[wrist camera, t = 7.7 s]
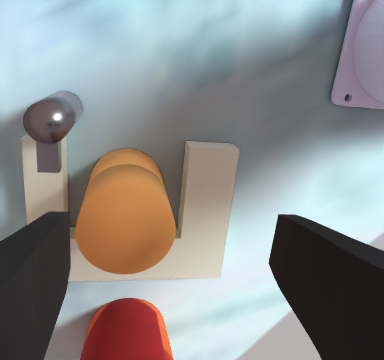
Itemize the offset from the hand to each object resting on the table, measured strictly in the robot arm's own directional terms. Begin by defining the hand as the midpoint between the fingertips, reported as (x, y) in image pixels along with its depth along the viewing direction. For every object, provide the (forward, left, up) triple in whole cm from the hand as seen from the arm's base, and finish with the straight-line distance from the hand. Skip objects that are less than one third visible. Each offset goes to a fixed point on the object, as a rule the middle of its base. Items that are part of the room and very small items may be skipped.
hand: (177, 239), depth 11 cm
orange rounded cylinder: (+2, +2, -10) cm, 10 cm away
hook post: (+5, -3, -10) cm, 12 cm away
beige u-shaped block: (+1, +3, -10) cm, 11 cm away
